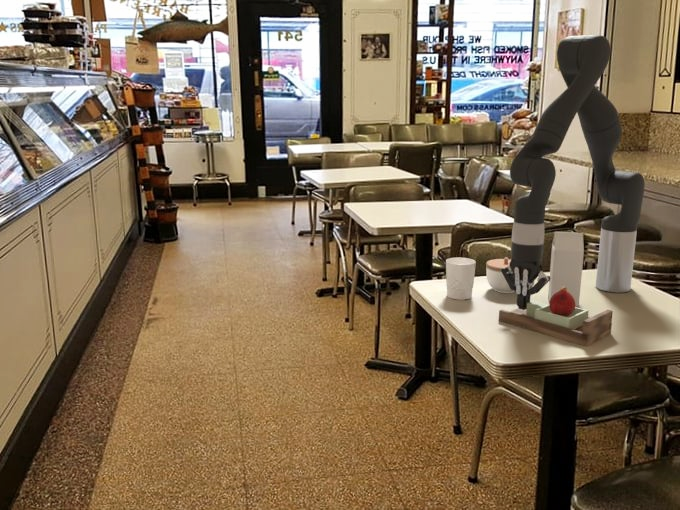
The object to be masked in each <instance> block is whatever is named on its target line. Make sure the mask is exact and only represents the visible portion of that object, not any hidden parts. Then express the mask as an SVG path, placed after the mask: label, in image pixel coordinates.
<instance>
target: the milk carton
mask: <svg viewBox="0 0 680 510" xmlns="http://www.w3.org/2000/svg"><path fill="white" fill-rule="evenodd" d="M553 234H554V236H553V239H552V243H551V253H550V254H551V255H550V266H549V267H550V268H549V276H550V278H551V279H550V281H549V282H548V294H547V296H548V297H547V298H548V301H549V302H550V299H551V297H552V296H553V295H554V294H555V293H556V292H558V291H560V290H561V288H562V287H566V288H567V289H566V290H567V292H569V293H570V294H571V295H572V296H573V298H574V300H575V307H577V308H580V300H581V299H580V296H581V289H582V288H581V287H582V276H583V275H582V274H583V265H584V263H583V262H584V255H585V249H584V248H585V246H584V232H571V231H570V232H566V231H554V233H553Z"/></svg>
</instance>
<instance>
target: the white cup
mask: <svg viewBox="0 0 680 510" xmlns="http://www.w3.org/2000/svg"><path fill="white" fill-rule="evenodd" d="M475 271H476V260H474V259H472V258H469V257H458V256H457V257H450V258H449V257H448V258H447V259H445V272H446V273H445V275H446V276H445V283H446V284H445V285H446V297H448V298H450V299H452V300H457V301H460V300H461V301H465V299H466V300H470V299H472V296H473V289H474V285H475V284H474V283H475V282H474V281H475V275H476V274H475V273H476V272H475Z"/></svg>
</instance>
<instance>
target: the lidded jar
mask: <svg viewBox="0 0 680 510" xmlns="http://www.w3.org/2000/svg"><path fill="white" fill-rule="evenodd" d="M511 259H512V258H510V259H509V257H504V258H495V259H490V260H487V261H486V263H485V264H486V265H485V266H486V270H485V273H486V280H487V283H488V285H489V286H490V287H491V289H494V290H495V291H494V290H493V291H494V292H496V291H498V292H497V293H499V292H513V293H515V292H514V290H511V289H510V287H509V285H508V283H507V281H506V279H505V277H504V276H503V274H502V272H501V269H503V268H506V267H507V266H509V263H510V261H511Z"/></svg>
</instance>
